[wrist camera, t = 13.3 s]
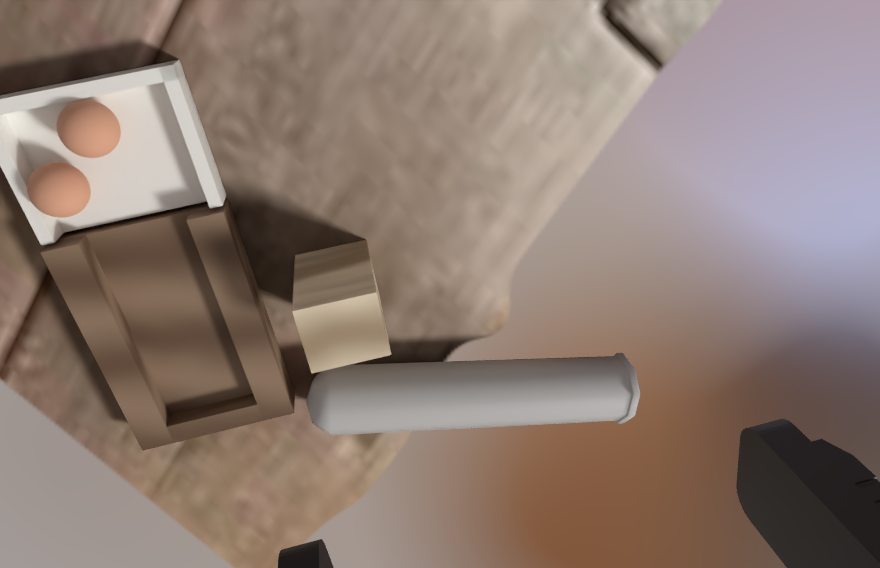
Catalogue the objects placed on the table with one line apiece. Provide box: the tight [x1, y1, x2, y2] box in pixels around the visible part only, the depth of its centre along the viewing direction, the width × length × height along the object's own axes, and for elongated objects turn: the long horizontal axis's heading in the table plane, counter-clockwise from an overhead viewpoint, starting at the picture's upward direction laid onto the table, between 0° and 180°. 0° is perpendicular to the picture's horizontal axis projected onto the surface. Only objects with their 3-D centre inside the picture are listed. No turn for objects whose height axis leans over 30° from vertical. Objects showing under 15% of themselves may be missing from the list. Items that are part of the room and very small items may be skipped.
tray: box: [0, 60, 226, 246], centre depth 38 cm, size 8×11×2 cm
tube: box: [306, 353, 640, 435], centre depth 49 cm, size 5×5×25 cm
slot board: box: [40, 199, 295, 450], centre depth 44 cm, size 16×11×2 cm
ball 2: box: [27, 162, 91, 218], centre depth 38 cm, size 3×3×3 cm
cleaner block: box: [292, 240, 391, 373], centre depth 42 cm, size 4×5×8 cm
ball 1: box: [56, 100, 121, 158], centre depth 36 cm, size 3×3×3 cm
